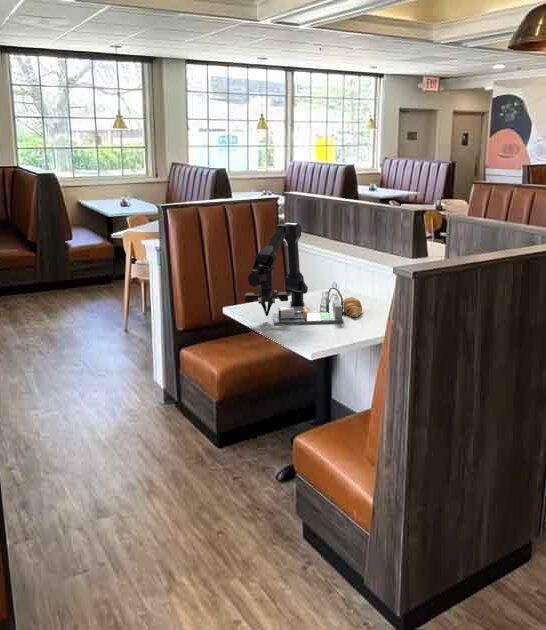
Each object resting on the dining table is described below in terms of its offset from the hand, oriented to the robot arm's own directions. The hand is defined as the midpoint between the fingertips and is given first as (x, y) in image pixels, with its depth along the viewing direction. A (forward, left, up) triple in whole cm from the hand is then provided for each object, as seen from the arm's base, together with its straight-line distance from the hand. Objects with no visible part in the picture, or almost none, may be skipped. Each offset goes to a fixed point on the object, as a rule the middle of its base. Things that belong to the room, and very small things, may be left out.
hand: (266, 315), depth 276 cm
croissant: (-10, +38, -3) cm, 40 cm away
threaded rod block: (0, +11, -1) cm, 11 cm away
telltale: (0, +17, 0) cm, 17 cm away
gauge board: (0, +18, -2) cm, 18 cm away
